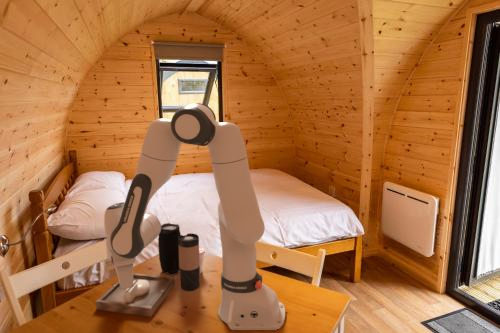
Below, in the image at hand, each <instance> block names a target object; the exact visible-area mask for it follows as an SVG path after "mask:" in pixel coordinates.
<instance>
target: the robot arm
mask: <svg viewBox="0 0 500 333" xmlns="http://www.w3.org/2000/svg"><path fill="white" fill-rule="evenodd" d="M182 144H186V145H192V146H200V147H205V146H206V147H207V148H208V152H209V156H210V162H211V168H212V173H213V178H214V183H215V189H216V190H217V194H218V198H219V200H220V201H219V203H218V204H217V214H218V216H217V217H218V225H219V227H218V228H219V235H220V243H221V251H222V253H221V254H222V258H221V259H222V272H221V274H220V275H221V277H220V285H221V290H222V291H221V298H220V299H221V300H220V303H219V307H218V311H217V312H218V313H217V314H218V317H219V319H220V320H221V321H222V322H224V323H225V324H227V326H228V328H229V329H230V330H231V331H278V330H280V329H281V328H282V327H283V325H284V324H285V320H286V307H285V305H284V304H283V303H282V302H281V301H279V298H278V294H277V293H276V291H275V290H273V289H272V288H271V287H269V286H267V285H266V284H265V283H263V272H261V273H258V272H257V248H256V244H255V243H257V242H258V241H259V240H261V238H262V237H263V235H264V233H265V222H264V220H263V216H262V214H261V210H260V206H259V201H258V198H257V195H256V193H255V189H254V186H253V183H252V178H251V172H250V166H249V159H248V153H247V149H246V144H245V141H244V138H243V135H242V132H241V129H240V127H239V126H238V125H237V124H236V123H233V122H229V121H223V122H221V121H220V122H219V121H217V118H216V114H215V113H214V110H213V109H212V108H211V107H210V106H208V105H207V104H204V103H202V102H201V103H200V102H199V103H198V102H196V103H188V104H186V105H184V106H182V107H180V108H179V109H177V110H176V111H175V112H174V114H173V115H172V118H171V119H169V118H156V119H154V120H152V121H151V122H150V124H149V126H148V127H147V130H146V132H145V135H144V138H143V141H142V146H141V150H140V155H139V159H138V163H137V167H136V170H135V172H134V176H133V178H132V180H131V183H130V186H129V189H128V191H127V194H126V198H125V201H124V202H117V203H114V204H111V205H109V206H108V207H107V208H105V211H104V215H103V217H104V218H103V222H104V224H103V225H104V233H105V235H106V241H105V247H106V248H105V249H106V257H107V259H108V260H109V261H110V262H111V264H112V266H113V267H114V268H115V271H116V275H117V279H118V281H119V284H120V287H121V289H122V290H124V289H127V288H131V287H132V286H133V273H134V264H135V263H136V257H138V256H139V255H140V253H141V252H142V251H143V250H144V249H145V248H147V246H149V245H150V244H151V243H152V242H153V241H154V240H155V239H156V238H158V237H159V234H160V232H161V225H162V224H161V222H160V220H159V218H158V217H157V216H156V215H154V214H153V213H151V212H150V213H149V212H147V208H148V206H149V203H150V201H151V199H152V197H153V196H154V195H155V194H156V193H157V192H158V191H159V189H161V188H162V187H164V185H165V184H166V183H167V182H169V181H170V180H171V178H172V176H173V173H174V172H175V169H176V167H177V164H178V163H177V162H178V160H179V159H178V158H179V153H180V151H181V147H182ZM277 329H278V330H277Z"/></svg>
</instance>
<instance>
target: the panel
mask: <svg viewBox="0 0 500 333" xmlns="http://www.w3.org/2000/svg"><path fill="white" fill-rule="evenodd" d="M135 280H146V281H148V282H149V287H150V290H149V292H148V293H146V294H145V295H142V296H138V297H135V298H134V299H133V300H132V302H131V303H127V302H125V291H126V289H124V290H122V289H121V287H120V284H119V280H118V281H115V283H114V284H113V285H111V287H109V289H108V290H106V292H104V293H103V294H102V295H101V296H100V297H99V298H98V299H96V301H95V309H96V310H98V311H106V312H112V313H120V314H121V313H122V314H128V315H135V316H136V315H137V316H144V317H153V315H154V314H155V313H156V311H157V310H158V308H159V307H160V306H161V304H162V303H163V302H164V301H165V299H166V298H167V297H168V295H169V294H170V292H171V291H172V290H173V289H174V287H175V285H176V277H174V276H165V275H156V274H155V275H154V274H145V273H137V272H136V273H135V272H133V281H135Z"/></svg>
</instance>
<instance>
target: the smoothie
mask: <svg viewBox="0 0 500 333" xmlns="http://www.w3.org/2000/svg"><path fill="white" fill-rule="evenodd" d="M205 251H206V250H205V248H203V247H201V246H199V259H200V274H201V273H202V272H203V262H204V255H205Z"/></svg>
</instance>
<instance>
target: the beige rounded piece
mask: <svg viewBox="0 0 500 333" xmlns="http://www.w3.org/2000/svg"><path fill="white" fill-rule="evenodd" d="M149 290H150V287H149V282H148V281H146V280H135V281H133V286H132V287H131V288H127V289H126V291H125V302H127V303H131V302H132V300H133V299H134V298H135V297H138V296H142V295H145V294H146V293H148V292H149Z"/></svg>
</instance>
